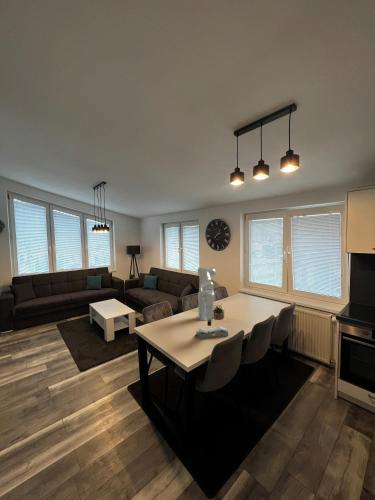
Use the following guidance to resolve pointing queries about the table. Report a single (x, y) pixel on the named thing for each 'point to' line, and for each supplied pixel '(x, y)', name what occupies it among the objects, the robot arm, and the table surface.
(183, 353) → the table surface
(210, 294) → the robot arm
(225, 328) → the rocker
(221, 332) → the power strip
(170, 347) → the table surface
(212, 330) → the rocker
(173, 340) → the table surface
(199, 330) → the rocker
